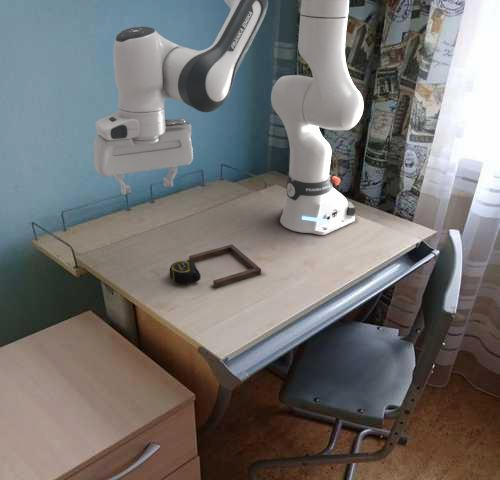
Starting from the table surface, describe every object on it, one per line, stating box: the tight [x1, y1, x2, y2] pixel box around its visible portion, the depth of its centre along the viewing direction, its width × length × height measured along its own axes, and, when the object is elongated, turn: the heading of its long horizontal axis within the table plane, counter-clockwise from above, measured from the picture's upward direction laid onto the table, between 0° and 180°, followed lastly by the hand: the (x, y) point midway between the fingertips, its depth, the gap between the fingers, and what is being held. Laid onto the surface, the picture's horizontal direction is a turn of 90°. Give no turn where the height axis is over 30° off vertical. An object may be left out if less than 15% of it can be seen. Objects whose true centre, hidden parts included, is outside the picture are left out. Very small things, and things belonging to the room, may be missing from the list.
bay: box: [188, 243, 262, 289], centre depth 129 cm, size 13×14×2 cm
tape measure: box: [169, 259, 201, 285], centre depth 123 cm, size 7×7×4 cm
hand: (147, 190), depth 108 cm, fingers open, 8 cm apart
